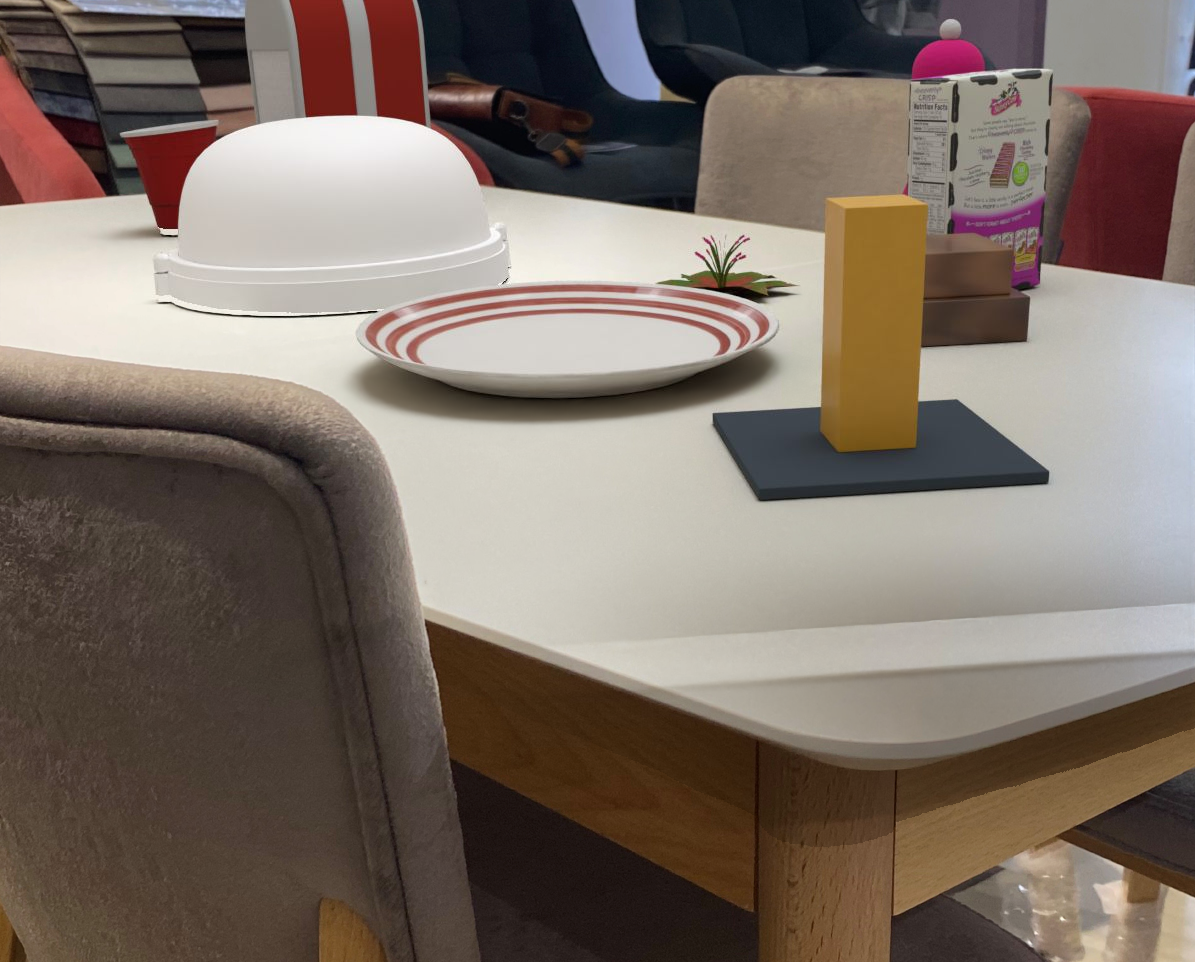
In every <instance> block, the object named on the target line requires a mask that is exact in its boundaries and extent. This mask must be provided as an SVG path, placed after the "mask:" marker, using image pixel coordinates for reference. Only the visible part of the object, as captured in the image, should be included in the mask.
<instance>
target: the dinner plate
mask: <svg viewBox="0 0 1195 962" xmlns="http://www.w3.org/2000/svg"><path fill="white" fill-rule="evenodd" d="M725 293H726V292H724V293H720V292H718V291H717V292H715V291H710V290H704V289H697V288H690V287H681V286H672V285H663V284H655V283H651V282H650V283H648V282H635V281H613V280H612V281H611V280H548V281H530V282H516V283H515V282H514V283H503V284H501V285H494V286H485V287H478V288H471V289H464V290H458V291H452V292H447V293H441V294H436V295H431V296H427V297H422V298H419V299H415V300H411V301H407V302H404V303H401V304H398V305H395V306H392V307H389V308H386V309H384V310H382V311H377V312H374V314H371V315H369V316H368V317H366V318H365V319H364V320H363V321H362V322H361V323H359V325H358V326H357V328H356V330H355V337H356V340H357V342H358V343H359V344H360V345H361V347H363V348H364V349H366V350H367V351H368V352H370V353H371V354H373V355H374V356H376V357H378V358H380V359H382V360H384V361H386V362H387V363H389V364H392V365H393V366H396V367H398V368H401V369H403V370H405V371H408V372H410V373H414V374H417V375H420V376H421V377H426V378H430V379H433V380H437V381H439V382H441V383H444V384H447V385H449V386H451V387H455V388H457V389H459V390H465V391H470V392H475V393H480V394H487V395H493V396H495V395H496V396H504V397H514V398H536V399H537V398H538V399H571V398H573V399H574V398H577V399H578V398H592V397H593V398H594V397H603V396H616V395H623V394H632V393H638V392H643V391H644V392H645V391H649V390H653V389H658V388H662V387H667V386H670V385H672V384H676V383H679V382H681V381H684V380H687V379H689V378H691V377H693V376H695V375H696V374H698V373H700V372H703V371H706V370H709V369H712V368H715V367H717V366H721V365H722V364H725V363H728V362H730V361H732V360H734V359H737V358H738V357H740V356H742V355H744V354H746V353H749V352H751V351H754V350H756V349H758V348H760V347H762V346H764V345H766V344H767V343H769V342H771V341H772V339H774V338H775V337H776V336H777V334H778V332H779V330H780V322H779V319H778V318H777V316H776V314H775V313H774V312H773V311H772V310H770V309H769V308H767V307H766V306H764V305H762V304H760V303H759V302H758V303H757V302H755V301H752V300H750V299H747V298H744V297H741V296H736V295H733V294H730V293H728V294H725Z"/></svg>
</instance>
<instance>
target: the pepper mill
mask: <svg viewBox="0 0 1195 962" xmlns="http://www.w3.org/2000/svg"><path fill="white" fill-rule="evenodd" d="M961 33H962V25H961V23H960V22H959V21H958V20H957V19H954V18H949V19H946V20H944V21H943V22H942V23H941V25H940V27H939V36H940V38H941V39H939V40H936V41H933V42H930V43H928V44H927V45H926V46H925V47H923V48H922V49H921V50H920V51H919V53H918V54H917V56H916V57H915V58H914V61H913V65H912V70H911V79H919V78H928V77H937V76H946V75H954V74H963V73H973V72H983V71H986V68H985V60H984V57H983V54H982V53H981V51H980V49H978V47H977V46H976V45H975V44H973V43H972V42H970V41H967V40H965V39H959V37H960V36H961ZM907 183H908V181H907V182H906V184H905V186H904V189H903V191H902V194H904V195H906V196H907Z"/></svg>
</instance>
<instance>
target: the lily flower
mask: <svg viewBox="0 0 1195 962" xmlns="http://www.w3.org/2000/svg"><path fill="white" fill-rule="evenodd" d="M709 237H710V239H711V240H709V239H707V238H706V237H705V236H702V237H701V239H702V240H703V241H704V243H706V244H708V245H709V248H710V251H709V249H708V248H706V249H705V251H706V253H707V255H708V256H709V257H710V259H711V261H712V265H713V266H712V265H711V264H710V262H709V260H707V259H706V257H705V256H704V255H703V254H701V253H700V252H698V251H694V255H695V256H696V257H698V258H699V259H700V260H702V261H703V262H704V263H705V265H706V267H707V268H708V269H709V270H703V271H700V272H696V273H692V274H690V275H688V274H683V273H681V274H680V279H668V280H662V281H657V282H655V283H654V284H663V285H672V286H681V287H690V288H697V289H704V290H710V291H715V292H720V293H725V294H734V293H739V292H743V291H744V292H745V291H753V292H756V293H758V294H763V295H765V296H768V297H769V296H770V295H769V294H768V289H775V288H787V287H800V285H798V284H793V283H790V282H789V283H788V282H787V281H783V280H769V279H777V277H776V276H774V275H772V274H768V275H767V274H762V273H760V272H756V271H745V272H744V271H743V272H738V273H737V272H730V271H731V269H732V268H733V266H734V265H735V263H737V261H742V260H744V259H745V258H747V254H742V251H740V252H738V253H737V254H736V255H735V256H734V257H733V258H732V259H731V260H730V261H729V259H730V257H731V256H732V255H733V253H735V251H736V250H737V249H738V248H739V247H740V246H741V245H742V244H743V243H747V242H748V241H750V240H751V237H747V238H745V237H746V236H745V234H742V235H740V236H739V237H738V239H737V240H735V242H734V243H733V245H732V246H731V247H730V249H729V250H728V251H727V252H726V251H722V252H723V255H722V256H724V257H723V258H720V256H719V252H718V251H719V249H718V246H717V243H716V241H715V238H714V237H713V235H710V236H709ZM724 237H725V238H724V240H727V235H725V236H724ZM742 239H743V240H742ZM741 240H742V241H741ZM740 241H741V242H740ZM712 242H713V243H714V245H713V243H712ZM718 242H719V243H718V244H721V241H720V240H719V241H718ZM725 244H726V243H724V244H723V247H725V246H726V245H725ZM719 247H720V250H722V246H721V245H719ZM711 254H712V255H711ZM737 258H738V259H737ZM728 261H729V263H728ZM713 267H714V268H713ZM684 279H685V280H684ZM766 279H767V280H766ZM760 280H764V281H760Z"/></svg>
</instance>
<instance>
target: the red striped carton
mask: <svg viewBox="0 0 1195 962" xmlns="http://www.w3.org/2000/svg"><path fill="white" fill-rule="evenodd" d="M244 29H245V30H244V31H245V42H246V53H247V58H248V59H247V60H248V66H249V68H248V69H249V77H250V84H251V93H252V101H253V108H254V109H253V110H254V118H255V125H258V124H263V123H267V122H273V121H280V120H287V119H296V118H308V117H323V116H375V117H386V118H394V119H400V120H405V121H409V122H413V123H417V124H420V125H423V126H425V127H428V128H430V129H432V126H431V125H432V124H431V113H430V99H429V85H428V75H427V72H428V71H427V60H426V47H425V35H424V27H423V19H422V15H421V10H420V6H419V3H418V0H245V7H244Z"/></svg>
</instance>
